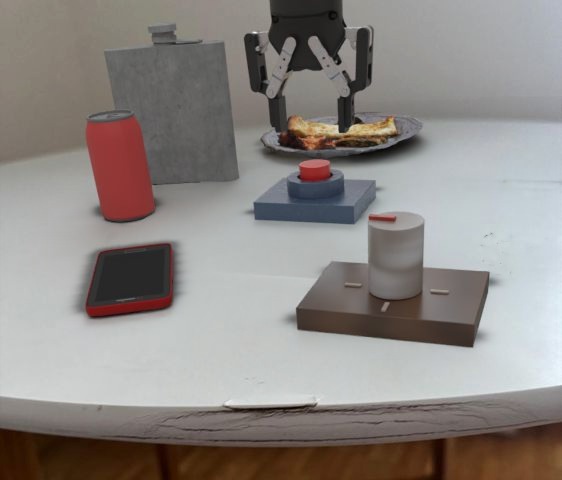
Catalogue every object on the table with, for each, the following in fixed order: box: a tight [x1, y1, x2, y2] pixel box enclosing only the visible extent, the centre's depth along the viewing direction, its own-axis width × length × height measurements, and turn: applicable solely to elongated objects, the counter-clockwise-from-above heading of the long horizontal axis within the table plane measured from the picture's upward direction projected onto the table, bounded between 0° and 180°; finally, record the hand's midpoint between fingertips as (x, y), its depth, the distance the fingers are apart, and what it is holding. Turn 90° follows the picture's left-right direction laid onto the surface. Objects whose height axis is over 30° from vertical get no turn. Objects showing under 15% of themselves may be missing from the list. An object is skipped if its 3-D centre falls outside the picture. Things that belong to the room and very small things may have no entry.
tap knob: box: [367, 211, 426, 300], centre depth 56 cm, size 4×4×6 cm
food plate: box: [259, 111, 425, 160], centre depth 108 cm, size 25×23×4 cm
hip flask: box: [103, 22, 240, 186], centre depth 93 cm, size 16×4×20 cm, turn 83°
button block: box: [252, 167, 377, 225], centre depth 82 cm, size 12×10×4 cm
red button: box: [298, 158, 331, 181], centre depth 81 cm, size 4×4×2 cm
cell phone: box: [84, 242, 174, 317], centre depth 67 cm, size 8×15×1 cm, turn 8°
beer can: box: [85, 109, 156, 223], centre depth 84 cm, size 7×7×12 cm
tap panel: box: [295, 260, 491, 349], centre depth 58 cm, size 14×10×2 cm
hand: (312, 131), depth 78 cm, fingers open, 7 cm apart
